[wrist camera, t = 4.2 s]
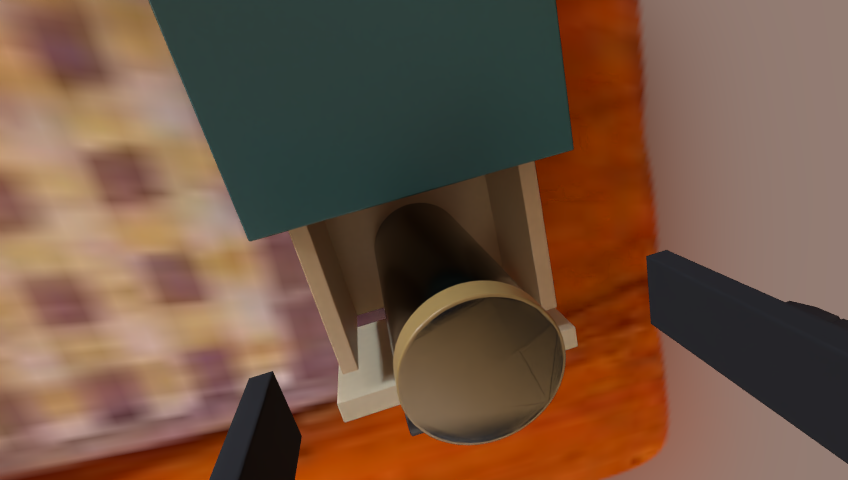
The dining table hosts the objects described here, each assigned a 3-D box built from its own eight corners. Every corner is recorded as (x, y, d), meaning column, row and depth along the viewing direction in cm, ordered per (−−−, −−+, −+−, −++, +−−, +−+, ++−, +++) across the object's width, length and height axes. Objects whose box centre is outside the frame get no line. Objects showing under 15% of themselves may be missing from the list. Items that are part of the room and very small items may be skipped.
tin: (387, 298, 25) (421, 467, 13) (361, 216, 23) (374, 326, 11) (470, 273, 25) (575, 414, 13) (451, 190, 23) (554, 270, 12)
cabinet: (502, 137, 25) (574, 150, 17) (283, 198, 24) (248, 242, 16) (445, -183, 20) (510, -384, 12) (162, -125, 19) (20, -304, 11)
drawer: (534, 343, 29) (587, 409, 22) (364, 399, 28) (368, 484, 21) (484, 64, 23) (536, 45, 16) (263, 121, 22) (226, 125, 15)
